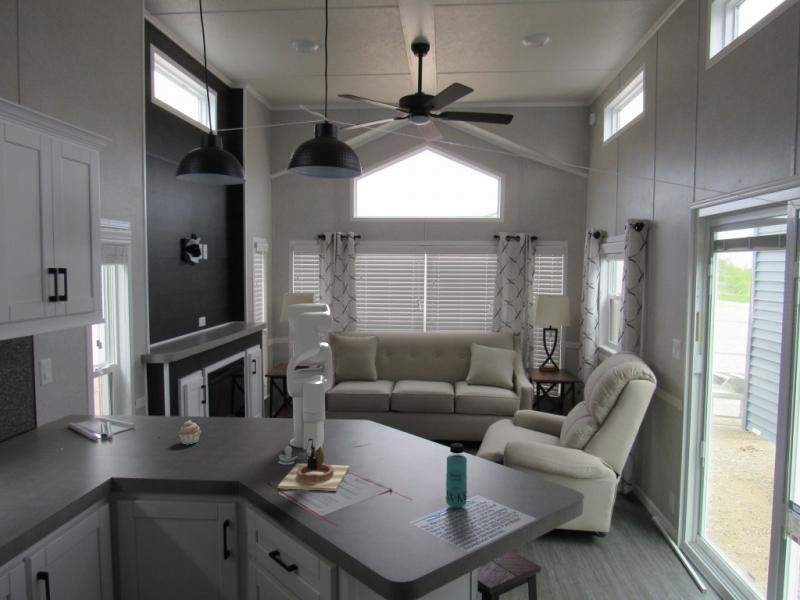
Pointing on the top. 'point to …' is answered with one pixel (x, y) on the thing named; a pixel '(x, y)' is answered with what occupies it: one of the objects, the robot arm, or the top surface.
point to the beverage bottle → (456, 477)
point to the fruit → (318, 457)
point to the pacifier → (287, 456)
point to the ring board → (317, 485)
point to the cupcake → (189, 433)
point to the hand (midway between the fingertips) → (315, 465)
